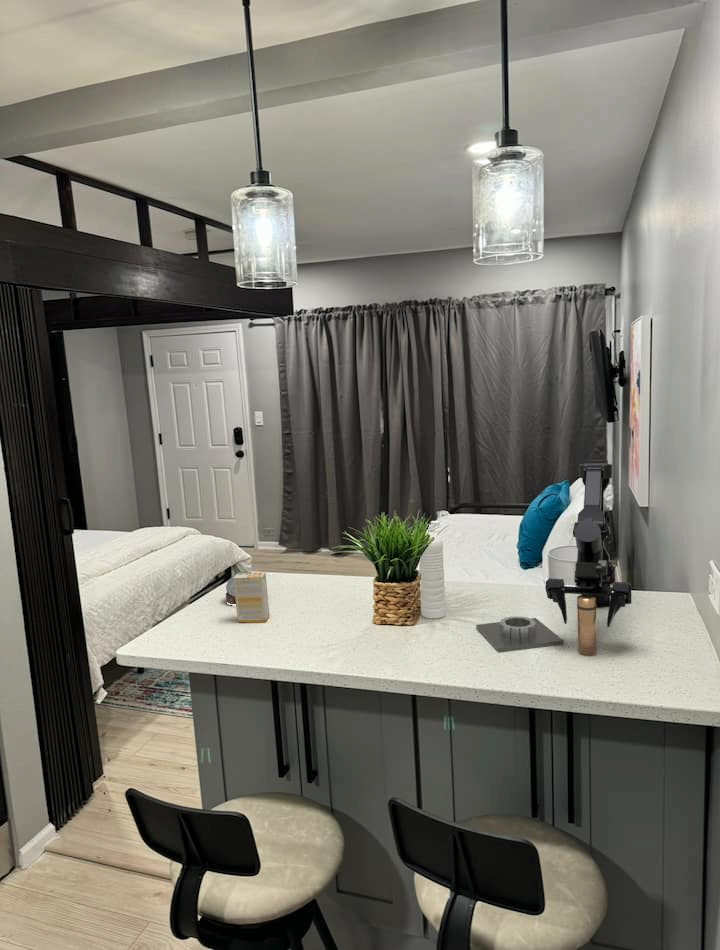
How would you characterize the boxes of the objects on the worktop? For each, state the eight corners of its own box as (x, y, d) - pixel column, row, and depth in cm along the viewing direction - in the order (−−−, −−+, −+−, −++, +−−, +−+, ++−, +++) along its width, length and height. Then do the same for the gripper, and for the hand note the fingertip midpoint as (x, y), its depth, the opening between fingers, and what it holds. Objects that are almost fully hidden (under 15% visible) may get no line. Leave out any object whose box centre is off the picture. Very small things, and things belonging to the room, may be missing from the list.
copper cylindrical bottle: (591, 648, 162) (590, 593, 160) (600, 654, 158) (599, 599, 156) (574, 650, 161) (573, 595, 159) (583, 657, 157) (582, 601, 155)
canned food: (260, 612, 214) (272, 586, 211) (238, 619, 206) (250, 592, 203) (235, 592, 219) (247, 565, 216) (213, 598, 211) (224, 570, 208)
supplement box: (270, 616, 196) (266, 571, 194) (266, 622, 191) (262, 576, 190) (241, 617, 197) (237, 572, 195) (236, 623, 192) (232, 577, 190)
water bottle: (441, 620, 185) (437, 528, 182) (418, 617, 188) (413, 527, 185) (451, 609, 193) (448, 521, 190) (429, 607, 196) (425, 520, 193)
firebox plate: (535, 621, 180) (535, 608, 180) (563, 644, 165) (562, 630, 164) (476, 628, 178) (475, 615, 178) (498, 652, 162) (497, 637, 162)
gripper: (545, 545, 164) (540, 605, 155) (631, 548, 157) (630, 611, 148) (550, 568, 172) (545, 627, 163) (631, 572, 165) (631, 634, 156)
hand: (586, 624), depth 157 cm, fingers open, 9 cm apart
